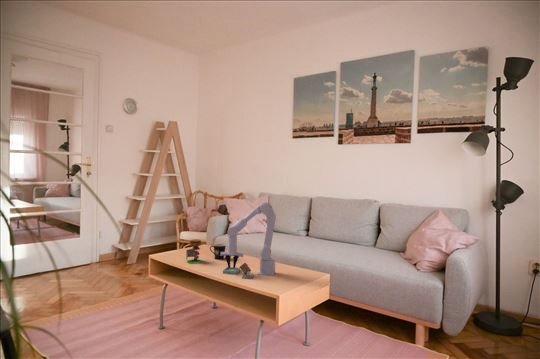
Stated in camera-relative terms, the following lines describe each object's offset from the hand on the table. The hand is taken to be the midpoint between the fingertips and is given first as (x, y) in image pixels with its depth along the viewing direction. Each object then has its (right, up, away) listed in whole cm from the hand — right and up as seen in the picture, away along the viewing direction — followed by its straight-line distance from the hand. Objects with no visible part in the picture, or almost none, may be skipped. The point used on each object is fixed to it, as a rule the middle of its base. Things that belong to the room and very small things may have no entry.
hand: (231, 267), depth 225 cm
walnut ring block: (+11, 0, -10) cm, 15 cm away
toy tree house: (-28, -2, +23) cm, 36 cm away
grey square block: (+11, -3, -11) cm, 15 cm away
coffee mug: (-13, -2, +34) cm, 36 cm away
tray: (0, -3, 0) cm, 3 cm away
